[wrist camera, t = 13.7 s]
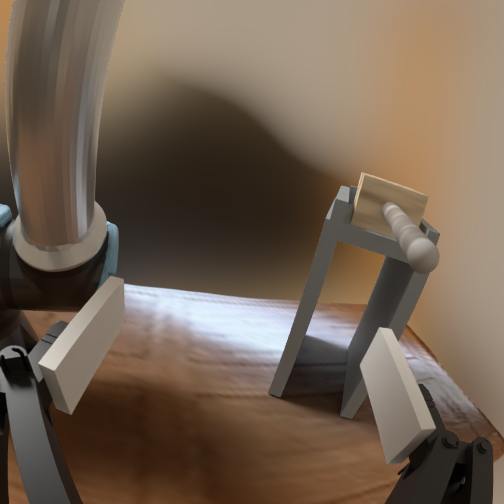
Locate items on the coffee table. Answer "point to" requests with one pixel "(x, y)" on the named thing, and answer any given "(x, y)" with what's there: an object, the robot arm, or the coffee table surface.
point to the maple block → (395, 218)
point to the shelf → (380, 303)
